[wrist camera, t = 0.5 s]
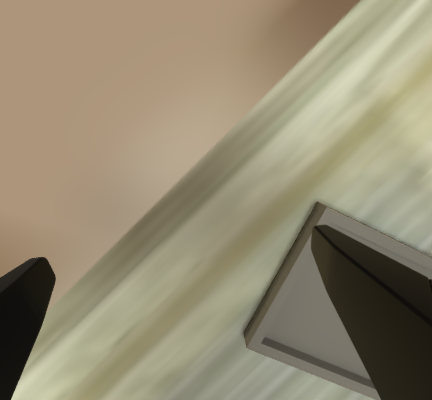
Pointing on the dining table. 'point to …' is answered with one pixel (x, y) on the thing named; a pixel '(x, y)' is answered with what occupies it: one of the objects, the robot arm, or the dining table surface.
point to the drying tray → (319, 307)
